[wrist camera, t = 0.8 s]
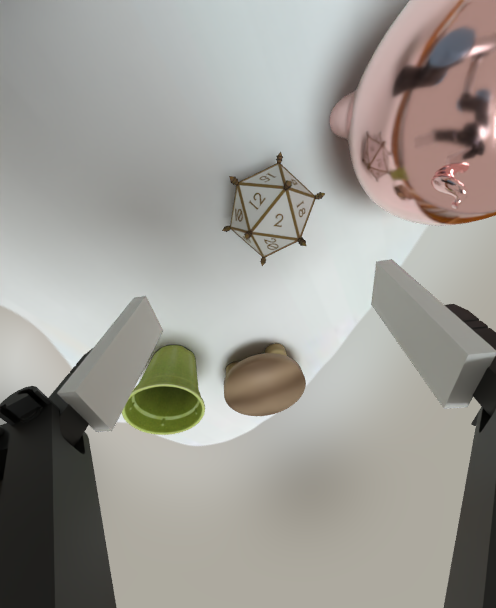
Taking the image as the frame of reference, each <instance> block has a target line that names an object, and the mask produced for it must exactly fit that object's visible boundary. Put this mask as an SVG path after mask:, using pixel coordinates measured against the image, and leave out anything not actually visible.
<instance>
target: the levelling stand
mask: <svg viewBox="0 0 496 608" xmlns="http://www.w3.org/2000/svg"><path fill="white" fill-rule="evenodd" d="M305 385H306V383H305V377H304V375H303V373H302V370H301V368H300V366H299V365H298V363H297V362H296V361H294V360H293V359H292V358H290V357H288V356H287V353H286V351H285V348H284V346H283V345H281V344H278V343H275V344H271V345H269V346H268V347H267V348H266V349H265V354H258V355H254V356H251V357H248V358H246V359H244V360H242V361H240V362H233V363H230V364H229V365H228V366H227V367H226V377H225V380H224V397H225V400H226V402H227V404H228V405H229V406H230V407H231V408H232V409H233V410H235V411H237V412H239V413H241V414H244V415H249V416H266V415H271V414H275V413H278V412H281V411H283V410H285V409H287V408H289V407H290V406H291V405H293V404H294V403H295V402H297V401H298V400H299V398H300V397H301V395H302V394H303V392H304V389H305Z"/></svg>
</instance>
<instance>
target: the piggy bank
mask: <svg viewBox="0 0 496 608" xmlns="http://www.w3.org/2000/svg"><path fill="white" fill-rule="evenodd" d="M330 127H331V130H332V131H333V133H334V134H335V135H336V136H338V137H341V138H344V139H347V140H348V143H349V150H350V156H351V161H352V165H353V169H354V172H355V175H356V177H357V179H358V181H359V183H360V185H361V187H362V188H363V190H364V191H365V193H366V194H367V195H368V196H369V198H370V199H371V200H372V201H373V202H374V203H375V204H377V205H378V206H379V207H380V208H382V209H383V210H385V211H386V212H388V213H390V214H392V215H394V216H396V217H398V218H401V219H404V220H407V221H410V222H414V223H419V224H425V225H441V226H442V225H456V224H463V223H469V222H473V221H478V220H482V219H486V218H489V217H492V216H495V215H496V0H409V2H408V3H407V4H406V5H405V7H404V8H403V9H402V11H401V12H400V13H399V15H398V16H397V18H396V19H395V20H394V22H393V23H392V25H391V26H390V28H389V29H388V31H387V32H386V34H385V35H384V37H383V38H382V40H381V42H380V43H379V45H378V47H377V48H376V50H375V52H374V53H373V55H372V57H371V59H370V61H369V63H368V65H367V67H366V69H365V71H364V73H363V75H362V77H361V79H360V82H359V84H358V86H357V89H356V90H355V91H354V92H352V93H350V94H348V95H346V96H345V97H343V98H342V99H340V100H339V101H338V102H337V103H336V105H335V106H334V108H333V109H332V112H331V115H330Z"/></svg>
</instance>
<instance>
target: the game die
mask: <svg viewBox="0 0 496 608" xmlns="http://www.w3.org/2000/svg"><path fill="white" fill-rule="evenodd" d="M282 158H283V156H282V154H281V152H280V153H279V155H278V156H277V159H276V160H277V164H275V165H273V166H271V167H269V168H267V169H265V170H263V171H261V172H258V173H256V174H254V175H252V176H250V177H248V178H246V179H244V180H242V181H240V182H238V179H236V178H235V177H232V176H229V177H230V180H231V183H233V185H234V184H235V185H236V192H235V198H234V205H233V211H232V217H231V224H230V226H226V227H224V229H223V230H222V231H226V232H227V231H229V230H230V229H231V230H233V231H234V232H235V233H236V234H237V235H238V236H239V237H241V238H242V239H243V240H244V241H245V242H246V243H247V244H248V245H250V246H251V247H252V248H253V249H254V250H255V251H256V252H257V253H259V254H260V255H261V256H262V259H261V261H260V262H261V264H262V266H263V265H264V264H265V263H266V262H265V261H266V259H265V258H266V257H267V256H269V255H271V254H273V253H275V252H277V251H279V250H281V249H283V248H285V247H287V246H289V245H291V244H294V243H296V242H299V244H300V246H306V241H305V240H304V239H303V238H302V234H303V231H304V229H305V226H306V223H307V220H308V218H309V215H310V212H311V210H312V207H313V204H314V202H315V199H318V200H319V199H320V198H321V199H322V197H323V196H324V195H325V193H321V192H320V193H317V195H313V194H312V193H311V192H310V191H309V190H308V189H307V188H306V187H305V186H304V185H303V184H302V183H301V182H299V181H298V180H297V179H296V178H295V177H294V176H293V175H292V174H291V173H290V172H289V171H288V170H287V169H286V168H285V167H283V166H282V165H281V161H282Z"/></svg>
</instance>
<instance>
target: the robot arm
mask: <svg viewBox="0 0 496 608" xmlns="http://www.w3.org/2000/svg"><path fill="white" fill-rule="evenodd" d="M371 305H372V306H373V308H374V309H375V311H376V312H377V313H378V315H379V316H380V318H381V319H382V321H383V322H384V324H385V325H386V326H387V328H388V329H389V331H390V332H391V333H392V335H393V336H394V338H395V339H396V341H397V342H398V344H399V345H400V346H401V348H402V349H403V351H404V352H405V353H406V355H407V357H408V358H409V359H410V361H411V362H412V364H413V365H414V367H415V368H416V369H417V371H418V372H419V374H420V375H421V377H422V378H423V380H424V381H425V382H426V384H427V385H428V386H429V388H430V389H431V391H432V392H433V394H434V395H435V397H436V398H437V400H438V401H439V402H440V404H441V405H442V407H443V408H444V409H446V408H461V407H468V405H469V403H470V401H471V400H472V398H473V397H474V398H475V399H476V400H477V401H478V402H479V404H480V405H481V406H482V407H481V409H480V410H479V412H478V414H477V415H476V417H475V419H474V420H473V422H472V425H474V426H476V429H475V435H474V440H473V446H472V452H471V457H470V463H469V468H468V474H467V479H466V485H465V491H464V496H463V502H462V508H461V513H460V519H459V524H458V531H457V536H456V541H455V547H454V552H453V558H452V564H451V569H450V575H449V581H448V587H447V592H446V598H445V603H444V608H496V332H494V331H493V330H492V329H490V328H488V326H487V325H486V324H484V323H483V322H482V321H479V319H478V318H477V317H476V316H474V315H473V314H472V313H471V312H469V311H468V310H466V309H464V308H461V307H459V306H457V305H455V304H449V305H443V304H442V303H441V302H440V301H439V300H438V299H437V298H435V297H434V296H433V295H432V294H431V293H430V292H429V291H427V290H426V289H425V288H424V287H423V286H422V285H421V284H419V283H418V282H417V281H416V280H415V279H414V278H413V277H411V276H410V275H409V274H408V273H407V272H406V271H405V270H403V269H402V268H401V267H400V266H399V265H398V264H397V263H395V262H394V261H393V260H392V259H391V260H384V261H378V262H376V269H375V277H374V285H373V294H372V302H371ZM162 332H163V329H162V327H161V325H160V323H159V321H158V319H157V317H156V315H155V313H154V311H153V309H152V307H151V305H150V303H149V301H148V299H147V297H146V296H142V297H136V298H133V300H132V301H131V302H130V303H129V305H128V306H127V307H126V308H125V310H124V311H123V312H122V313H121V315H120V316H119V317H118V318H117V320H116V321H115V322H114V323H113V324H112V326H111V327H110V328H109V329H108V331H107V332H106V333H105V334H104V336H103V337H102V338H101V339H100V341H99V342H98V343H97V344H96V346H95V347H94V348H93V349H91V350H90V351H89V352H88V353H86V354H85V355H84V356H83V357H82V358H81V359H80V360H79V362H78V363H77V364H76V366H75V367H74V368H73V369H72V370H71V371H70V373H69V374H68V375H67V376H66V377H65V379H64V380H63V381H62V382H61V383H60V385H59V386H58V387H57V388H56V390H55V391H54V392H53V393H52V394H51V396H50V397H49V398H47V397H46V396H45V395H44V394H43V393H42V392H41V391H40V390H39V389H38V388H37V387H34V386H30V387H25V388H23V389H21V390H18V391H17V392H15V393H13V394H12V395H10V396H9V397H8V398H7V399H5V400H4V401H3V402H2V403H1V404H0V418H2V419H3V420H4V421H6V422H7V423H6V424H3V425H0V608H116V603H115V596H114V591H113V584H112V578H111V572H110V566H109V560H108V554H107V548H106V542H105V536H104V529H103V523H102V517H101V511H100V506H99V499H98V493H97V487H96V481H95V475H94V469H93V462H92V456H91V451H90V444H89V438H88V436H87V434H86V433H85V432H84V431H85V430H86V428H87V426H88V425H90V426H91V427H92V428H93V429H94V430H95V431H96V432H103V431H112V430H113V428H114V426H115V424H116V422H117V420H118V418H119V416H120V414H121V413H122V411H123V409H124V407H125V405H126V403H127V401H128V399H129V397H130V395H131V393H132V391H133V389H134V387H135V385H136V383H137V381H138V379H139V377H140V375H141V373H142V371H143V369H144V367H145V365H146V364H147V362H148V360H149V358H150V356H151V354H152V352H153V350H154V348H155V346H156V344H157V342H158V340H159V338H160V336H161V334H162Z"/></svg>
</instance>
